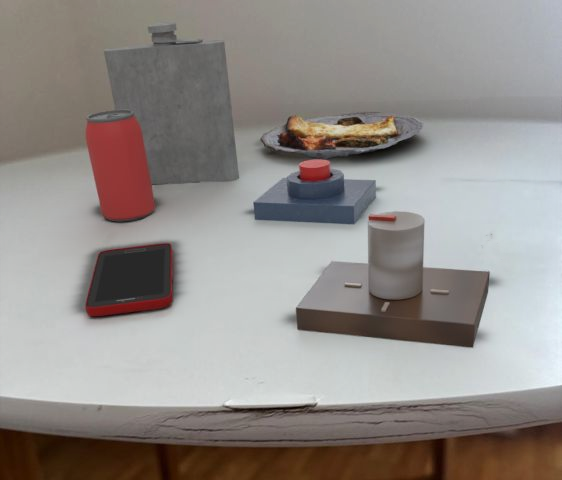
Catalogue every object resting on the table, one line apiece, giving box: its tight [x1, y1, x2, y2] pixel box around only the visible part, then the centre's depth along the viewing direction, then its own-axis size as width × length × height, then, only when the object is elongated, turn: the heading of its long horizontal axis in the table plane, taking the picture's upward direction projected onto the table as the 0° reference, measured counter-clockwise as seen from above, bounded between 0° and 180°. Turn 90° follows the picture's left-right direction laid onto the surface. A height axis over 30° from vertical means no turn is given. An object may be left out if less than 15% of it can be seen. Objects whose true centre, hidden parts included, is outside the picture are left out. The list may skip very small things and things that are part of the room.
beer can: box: [85, 109, 156, 223], centre depth 84 cm, size 7×7×12 cm
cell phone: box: [84, 242, 174, 317], centre depth 67 cm, size 8×15×1 cm, turn 8°
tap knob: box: [367, 211, 426, 300], centre depth 56 cm, size 4×4×6 cm
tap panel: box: [295, 260, 491, 349], centre depth 58 cm, size 14×10×2 cm
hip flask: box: [103, 22, 240, 186], centre depth 93 cm, size 16×4×20 cm, turn 83°
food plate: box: [259, 111, 425, 160], centre depth 108 cm, size 25×23×4 cm
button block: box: [252, 167, 377, 225], centre depth 82 cm, size 12×10×4 cm
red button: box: [298, 158, 331, 181], centre depth 81 cm, size 4×4×2 cm
